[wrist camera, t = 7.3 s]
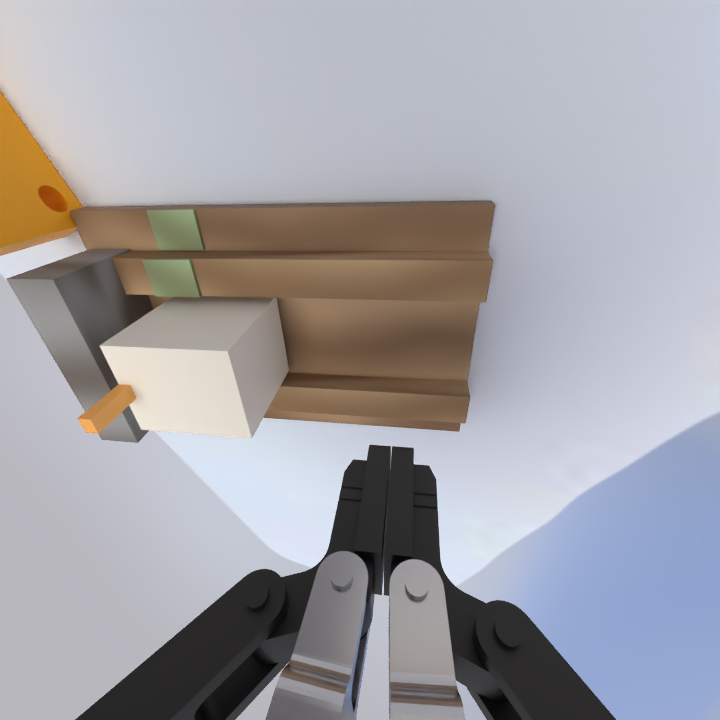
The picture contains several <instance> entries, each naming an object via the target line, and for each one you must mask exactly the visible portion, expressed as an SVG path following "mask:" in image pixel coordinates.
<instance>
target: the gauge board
mask: <svg viewBox="0 0 720 720" xmlns="http://www.w3.org/2000/svg"><path fill="white" fill-rule="evenodd" d="M494 208H495V204H493V203H492V202H491V201H437V202H374V203H311V204H247V205H184V206H120V207H85V208H80V209H76V210H71V211H69V212H70V214H71V216H72V218H73V220H74V223H75V225H76V227H77V229H78V232H79V234H80V236H81V238H82V241H83V243H84V245H85V247H86V250H87V251H84V252H81V253H78V254H75V255H73V256H70V257H67V258H64V259H61V260H58V261H56V262H53V263H50V264H47V265H44V266H41V267H39V268H36V269H33V270H30V271H27V272H24V273H22V274H19V275H16V276H13V277H10V278H7V281H8V282H9V284H10V286H11V288H12V289H13V291H14V293H15V294H16V296H17V298H18V299H19V301H20V303H21V304H22V306H23V308H24V309H25V311H26V313H27V314H28V316H29V318H30V320H31V321H32V323H33V325H34V326H35V328H36V330H37V331H38V333H39V335H40V336H41V338H42V339H43V341H44V343H45V344H46V346H47V348H48V350H49V352H50V353H51V355H52V357H53V358H54V360H55V362H56V363H57V365H58V366H59V368H60V370H61V372H62V373H63V375H64V377H65V378H66V380H67V382H68V383H69V385H70V387H71V389H72V390H73V392H74V393H75V395H76V397H77V399H78V400H79V402H80V404H81V405H82V407H83V409H84V410H85V412H86V411H87V410H88V409H90V408H91V407H92V406H93V405H94V404H96V403H97V402H98V401H99V400H100V399H101V398H103V397H104V396H105V395H106V394H107V393H109V392H110V391H111V390H112V389H113V388H115V387H116V386H117V385H118V382H117V380H116V378H115V376H114V374H113V372H112V370H111V368H110V366H109V364H108V362H107V360H106V358H105V356H104V354H103V352H102V350H101V348H100V346H99V345H101V344H102V343H104V342H105V341H107V340H108V339H110V338H111V337H113V336H114V335H116V334H118V333H119V332H121V331H122V330H124V329H125V328H127V327H128V326H130V325H131V324H133V323H134V322H136V321H137V320H139V319H140V318H142V317H143V316H145V315H146V314H148V313H149V312H151V311H152V310H154V309H155V308H157V307H158V306H160V305H161V304H163V303H164V302H166V301H167V300H169V299H170V298H172V297H201V296H224V297H270V298H277V303H278V309H279V315H280V320H281V326H282V332H283V338H284V343H285V349H286V355H287V361H288V367H289V371H288V373H287V375H286V377H285V378H284V380H283V382H282V384H281V386H280V388H279V389H278V391H277V393H276V395H275V397H274V399H273V400H272V402H271V404H270V406H269V408H268V410H267V411H266V413H265V415H264V417H263V418H276V419H290V420H304V421H318V422H332V423H347V424H361V425H375V426H389V427H404V428H418V429H432V430H446V431H459V429H460V423H466V418H467V412H468V406H469V400H470V394H469V389H468V384H467V379H468V372H469V366H470V360H471V353H472V347H473V341H474V334H475V328H476V322H477V315H478V309H479V303H480V302H486V300H487V294H488V288H489V282H490V276H491V270H492V264H493V260H492V258H491V257H490V255H489V253H488V246H489V239H490V233H491V227H492V220H493V214H494ZM148 431H149V430H141V428H140V426H139V424H138V422H137V420H136V418H135V416H134V414H133V412H132V410H131V408H130V406H128V407H127V408H126V409H125V410H124V411H122V412H121V413H120V414H119V415H118V416H117V417H116V418H115V419H114V420H113V421H112V422H111V423H110V424H109V425H108V426H106V427H105V428H104V429H103V430H102V431H101V432H100V433H99V436H100V437H101V439H102V440H113V441H124V442H136V443H138V442H139V441H140V440H141V439H142V438H143V437H144V435H145V434H146V433H147V432H148Z"/></svg>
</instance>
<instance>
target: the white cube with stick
mask: <svg viewBox="0 0 720 720" xmlns="http://www.w3.org/2000/svg"><path fill="white" fill-rule="evenodd" d="M99 346H100V348H101V350H102V352H103V354H104V356H105V358H106V360H107V362H108V364H109V366H110V368H111V370H112V372H113V374H114V376H115V378H116V380H117V382H118V385H117V386H116V387H115V388H113V389H112V390H111V391H110V392H109V393H107V394H106V395H105V396H104V397H103V398H101V399H100V400H99V401H98V402H97V403H96V404H94V405H93V406H92V407H91V408H90V409H88V410H87V411H86V412H85V413H84V414H82V415H81V416H80V417H79V418H78V420H79V422H80V423H81V425H82V426H83V428H84V430H85V432H86V433H96V434H99V433H100V432H101V431H102V430H103V429H104V428H105V427H106V426H108V425H109V424H110V423H111V422H112V421H113V420H114V419H115V418H116V417H117V416H118V415H119V414H120V413H121V412H122V411H124V410H125V409H126V408H127V407H128V406H130V408H131V410H132V412H133V414H134V416H135V418H136V420H137V422H138V424H139V426H140V428H141V430H153V431H165V432H178V433H191V434H203V435H216V436H229V437H241V438H252V437H253V435H254V433H255V432H256V430H257V428H258V426H259V424H260V422H261V421H262V419H263V417H264V415H265V413H266V411H267V410H268V408H269V406H270V404H271V402H272V400H273V399H274V397H275V395H276V393H277V391H278V389H279V388H280V386H281V384H282V382H283V380H284V378H285V377H286V375H287V373H288V371H289V367H288V361H287V355H286V349H285V343H284V338H283V332H282V326H281V320H280V315H279V309H278V303H277V298H270V297H224V296H201V297H172V298H170V299H169V300H167V301H166V302H164V303H163V304H161V305H160V306H158V307H157V308H155V309H154V310H152V311H151V312H149V313H148V314H146V315H145V316H143V317H142V318H140V319H139V320H137V321H136V322H134V323H133V324H131V325H130V326H128V327H127V328H125V329H124V330H122V331H121V332H119V333H118V334H116V335H114V336H113V337H111V338H110V339H108V340H107V341H105V342H104V343H102V344H101V345H99Z"/></svg>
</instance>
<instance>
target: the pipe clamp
mask: <svg viewBox="0 0 720 720" xmlns="http://www.w3.org/2000/svg"><path fill="white" fill-rule="evenodd" d="M80 208H83V206H82V205H81V203H80V202H79V201H78V199H77V198H76V196H75V195H74V194H73V192H72V191H71V189H70V188H69V187H68V185H67V184H66V182H65V181H64V180H63V178H62V177H61V175H60V174H59V173H58V171H57V170H56V168H55V167H54V166H53V164H52V163H51V161H50V160H49V159H48V157H47V156H46V154H45V153H44V152H43V150H42V149H41V147H40V146H39V145H38V143H37V142H36V140H35V139H34V138H33V136H32V135H31V133H30V132H29V131H28V129H27V128H26V126H25V125H24V124H23V122H22V121H21V119H20V118H19V116H18V115H17V114H16V112H15V111H14V109H13V108H12V107H11V105H10V104H9V102H8V101H7V100H6V98H5V97H4V95H3V94H2V93H1V91H0V256H1V255H5V254H8V253H11V252H15V251H18V250H22V249H25V248H28V247H32V246H35V245H39V244H42V243H45V242H49V241H52V240H56V239H59V238H62V237H65V236H67V235H69V234H71V233H73V232H75V231H77V230H78V229H77V227H76V225H75V223H74V220H73V218H72V216H71V214H70V212H69V211H71V210H76V209H80Z"/></svg>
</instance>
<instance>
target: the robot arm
mask: <svg viewBox="0 0 720 720" xmlns="http://www.w3.org/2000/svg"><path fill="white" fill-rule="evenodd" d="M413 460H414V448H407V447H394V446H392V457H391V446H379V445H370V446H369V450H368V457H367V461H364V460H353V461H352V462H351V463H350V465H349V466H348V468H347V469H346V470H345V472H344V477H343V482H342V488H341V491H340V496H339V501H338V506H337V511H336V515H335V520H334V525H333V530H332V535H331V539H330V544H329V548H328V550H327V553H326V555H325V556H324V558H323V559H322V560H321V561H320V562H319V563H318V564H317V565H316V566H315V567H313V568H312V569H309V570H307V571H305V572H301V573H297V574H293V575H289V576H285V577H280V576H279V575H278V574H277V573H276V572H274V571H272V570H268V569H260V570H256V571H253V572H251V573H250V574H248V575H247V576H245V577H244V578H243V579H242V580H241V581H239V582H238V583H237V584H236V585H234V586H233V587H232V588H231V589H230V590H229V591H227V592H226V593H225V594H224V595H223V596H221V597H220V598H219V599H218V600H217V601H216V602H214V603H213V604H212V605H211V606H210V607H208V608H207V609H206V610H205V611H204V612H202V613H201V614H200V615H199V616H198V617H197V618H195V619H194V620H193V621H192V622H191V623H189V624H188V625H187V626H186V627H185V628H183V629H182V630H181V631H180V632H179V633H178V634H176V635H175V636H174V637H173V638H172V639H171V640H169V641H168V642H167V643H166V644H164V645H163V646H162V647H161V648H160V649H159V650H157V651H156V652H155V653H154V654H153V655H151V656H150V657H149V658H148V659H147V660H146V661H144V662H143V663H142V664H141V665H140V666H138V667H137V668H136V669H135V670H134V671H132V672H131V673H130V674H129V675H128V676H127V677H125V678H124V679H123V680H122V681H121V682H120V683H118V684H117V685H116V686H115V687H114V688H112V689H111V690H110V691H109V692H108V693H106V694H105V695H104V696H103V697H102V698H100V699H99V700H98V701H97V702H96V703H95V704H93V705H92V706H91V707H90V708H89V709H88V710H86V711H85V712H84V713H83V714H81V715H80V716H79V717H78V718H77V719H76V720H235V719H236V718H237V717H238V716H239V715H240V714H241V713H242V712H243V711H244V710H245V708H246V707H247V706H248V705H249V704H250V703H251V702H252V701H253V700H254V699H255V698H256V696H257V695H259V693H260V692H261V691H262V690H263V689H264V688H265V687H266V686H267V685H268V684H269V683H270V682H271V680H272V679H273V678H274V677H275V676H276V675H277V674H278V673H279V672H280V671H281V670H282V669H283V668H284V666H285V665H286V664H287V663H288V662H289V661H290V662H289V663H288V665H287V666H286V667H285V668H284V670H283V671H282V673H281V675H280V677H279V680H278V682H277V685H276V688H275V691H274V694H273V697H272V701H271V704H270V707H269V710H268V713H267V717H266V720H356V714H357V707H358V700H359V693H360V688H361V681H362V675H363V669H364V662H365V655H366V650H367V644H368V637H369V630H370V625H371V622H372V615H373V604H374V594H379V595H381V594H382V585H383V572H384V595H388V596H389V720H465V715H464V709H463V704H462V700H461V698H460V695H459V693H458V689H457V685H456V680H457V681H458V682H460V683H462V684H463V685H465V686H466V687H467V689H468V690H469V692H470V694H471V695H472V697H473V698H474V700H475V701H476V703H477V705H478V706H479V708H480V709H481V711H482V713H483V714H484V715H485V717H486V719H487V720H616V719H615V718H614V717H613V716H612V714H611V713H610V712H609V711H608V710H607V709H606V707H605V706H604V705H603V704H602V703H601V701H600V700H599V699H598V698H597V697H596V696H595V694H594V693H593V692H592V691H591V690H590V689H589V687H588V686H587V685H586V684H585V683H584V682H583V681H582V679H581V678H580V677H579V676H578V675H577V673H576V672H575V671H574V670H573V669H572V668H571V667H570V665H569V664H568V663H567V662H566V660H565V659H564V658H563V657H562V656H561V655H560V653H559V652H558V651H557V650H556V649H555V648H554V647H553V645H552V644H551V643H550V642H549V641H548V639H547V638H546V637H545V636H544V635H543V634H542V632H541V631H540V630H539V629H538V628H537V627H536V625H535V624H534V623H533V622H532V621H531V620H530V618H529V617H528V616H527V615H526V614H525V613H524V612H523V611H522V610H521V609H519V608H518V607H517V606H515V605H513V604H511V603H509V602H505V601H500V600H496V601H491V602H488V603H487V604H486V603H484V602H483V601H480V600H478V599H476V598H474V597H472V596H470V595H468V594H466V593H464V592H463V591H461V590H459V589H458V588H457V587H456V586H454V585H453V584H452V583H451V581H450V580H449V579H448V578H447V576H446V574H445V573H444V570H443V568H442V565H441V561H440V547H439V527H438V510H437V488H436V478H435V476H434V474H433V473H432V471H431V469H430V467H429V466H427V465H415V464H413ZM390 466H391V470H390Z"/></svg>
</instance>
